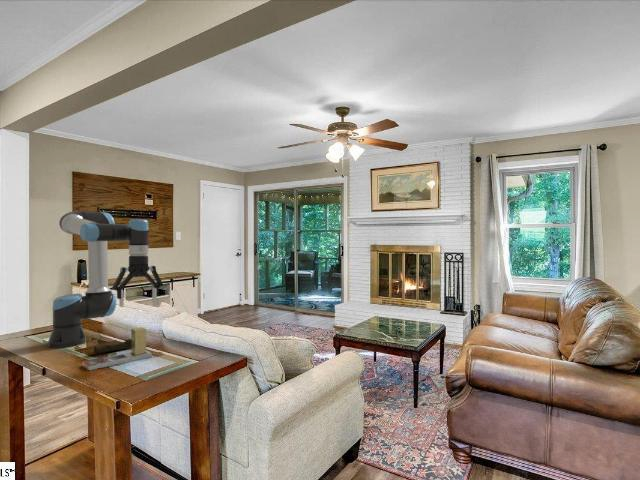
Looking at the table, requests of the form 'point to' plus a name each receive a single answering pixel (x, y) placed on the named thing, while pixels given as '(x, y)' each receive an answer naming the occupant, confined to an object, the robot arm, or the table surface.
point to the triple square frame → (113, 360)
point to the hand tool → (112, 347)
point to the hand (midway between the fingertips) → (138, 304)
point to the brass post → (138, 341)
